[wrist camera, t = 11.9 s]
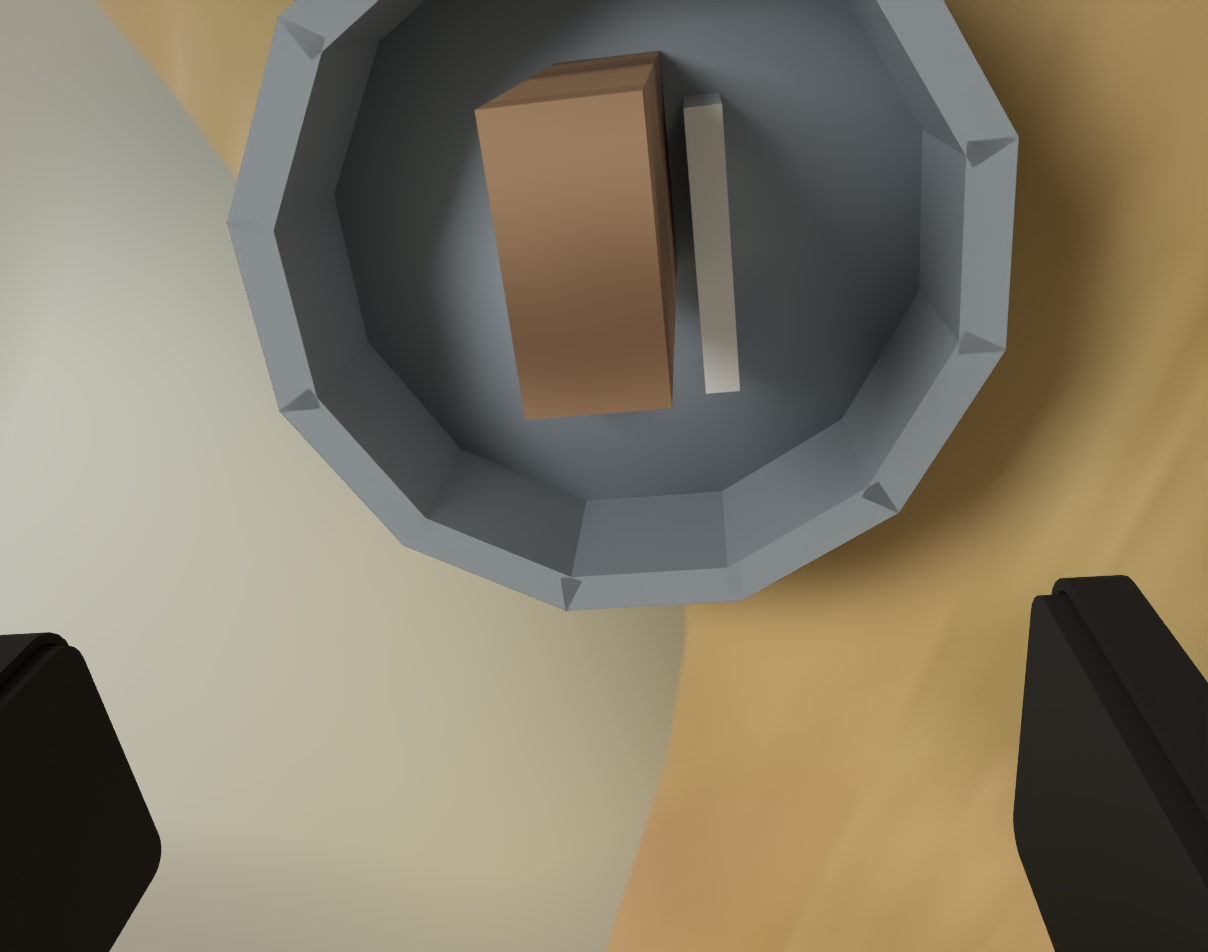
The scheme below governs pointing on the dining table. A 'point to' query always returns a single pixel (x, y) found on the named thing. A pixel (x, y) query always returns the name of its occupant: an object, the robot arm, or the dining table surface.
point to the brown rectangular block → (585, 234)
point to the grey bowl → (703, 294)
